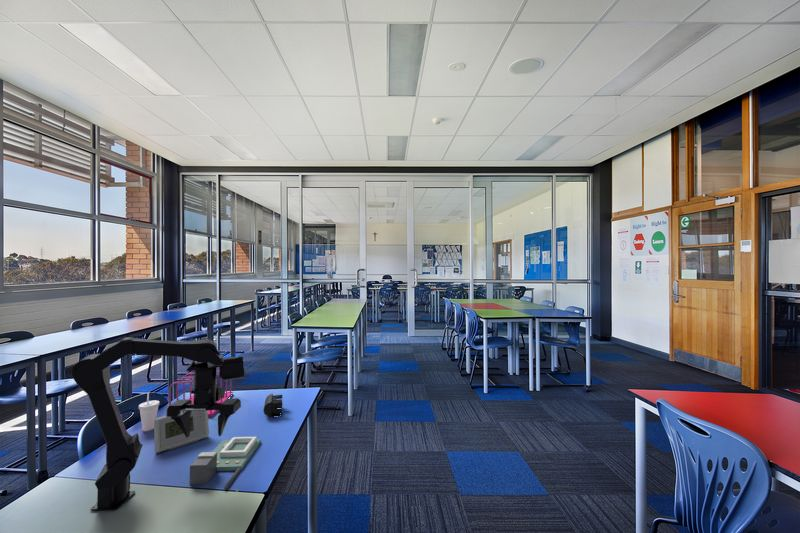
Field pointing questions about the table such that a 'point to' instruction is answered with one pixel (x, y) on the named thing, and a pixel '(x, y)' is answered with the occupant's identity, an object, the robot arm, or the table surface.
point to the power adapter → (273, 405)
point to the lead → (232, 478)
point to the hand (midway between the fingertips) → (204, 436)
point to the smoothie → (148, 413)
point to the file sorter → (210, 412)
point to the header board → (235, 452)
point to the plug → (203, 468)
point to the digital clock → (179, 431)
